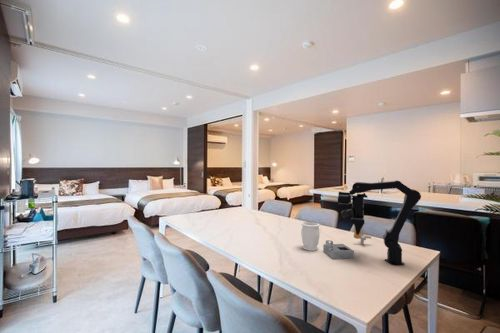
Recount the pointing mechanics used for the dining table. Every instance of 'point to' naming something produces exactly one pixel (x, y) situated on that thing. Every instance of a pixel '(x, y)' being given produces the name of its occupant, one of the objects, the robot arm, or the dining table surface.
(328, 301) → the dining table surface
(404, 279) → the dining table surface
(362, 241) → the pipe connector
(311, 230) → the jar
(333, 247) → the grey slotted base
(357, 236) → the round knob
